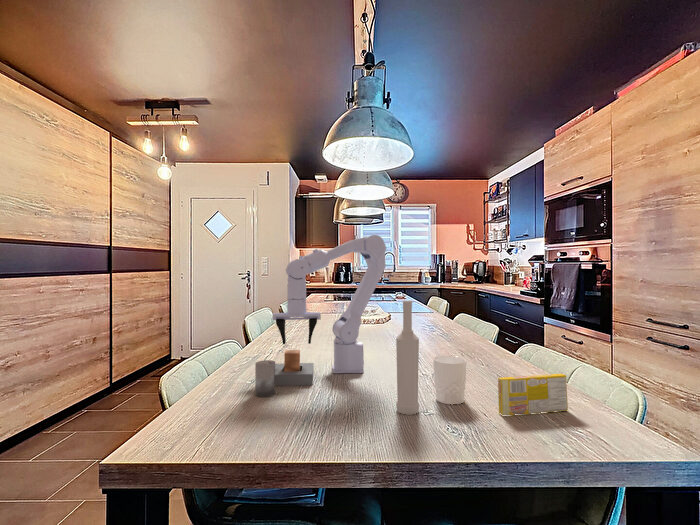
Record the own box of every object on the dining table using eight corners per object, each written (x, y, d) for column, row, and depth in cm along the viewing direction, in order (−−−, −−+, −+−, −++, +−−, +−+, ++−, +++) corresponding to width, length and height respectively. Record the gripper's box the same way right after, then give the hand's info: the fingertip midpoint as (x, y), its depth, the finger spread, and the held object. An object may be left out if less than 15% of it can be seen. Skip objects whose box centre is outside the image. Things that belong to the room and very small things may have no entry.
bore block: (313, 372, 113) (313, 362, 113) (312, 385, 101) (312, 374, 101) (274, 373, 112) (274, 363, 112) (268, 386, 100) (268, 375, 101)
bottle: (420, 408, 85) (420, 300, 85) (417, 416, 80) (417, 302, 80) (398, 405, 86) (398, 299, 87) (393, 413, 82) (393, 301, 82)
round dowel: (276, 390, 97) (276, 360, 97) (273, 397, 92) (273, 365, 92) (257, 390, 97) (257, 360, 97) (253, 397, 92) (253, 365, 92)
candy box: (561, 408, 85) (561, 373, 85) (568, 412, 83) (568, 375, 83) (497, 413, 82) (497, 376, 82) (503, 417, 80) (502, 379, 80)
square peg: (299, 376, 109) (299, 350, 109) (299, 381, 105) (299, 353, 105) (285, 377, 109) (285, 350, 109) (284, 381, 105) (284, 353, 105)
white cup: (468, 397, 92) (468, 357, 92) (464, 408, 85) (464, 364, 85) (437, 392, 95) (436, 354, 95) (430, 402, 88) (430, 361, 88)
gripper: (271, 300, 107) (271, 346, 107) (320, 299, 109) (320, 345, 109) (273, 298, 114) (274, 341, 114) (320, 297, 116) (320, 340, 116)
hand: (296, 343), depth 112 cm, fingers open, 7 cm apart
